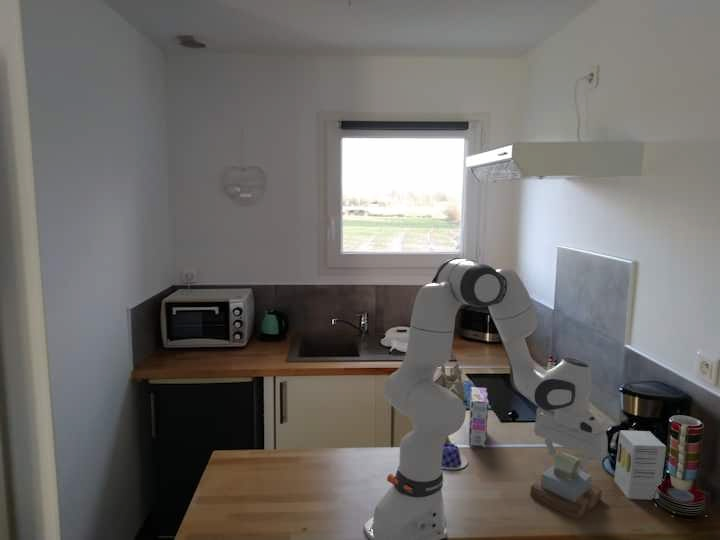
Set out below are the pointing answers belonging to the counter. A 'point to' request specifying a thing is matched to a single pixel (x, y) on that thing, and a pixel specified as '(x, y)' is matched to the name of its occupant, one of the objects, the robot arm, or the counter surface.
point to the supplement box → (639, 464)
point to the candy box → (478, 417)
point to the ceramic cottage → (451, 381)
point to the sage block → (567, 466)
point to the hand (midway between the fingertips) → (567, 461)
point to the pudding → (452, 457)
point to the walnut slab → (567, 500)
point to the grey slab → (566, 484)
